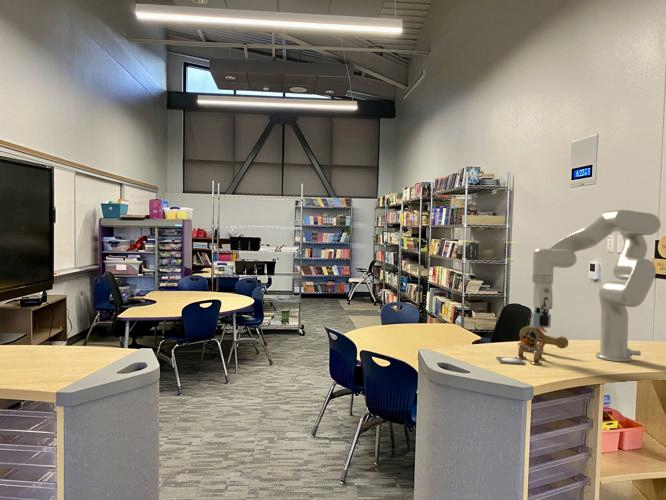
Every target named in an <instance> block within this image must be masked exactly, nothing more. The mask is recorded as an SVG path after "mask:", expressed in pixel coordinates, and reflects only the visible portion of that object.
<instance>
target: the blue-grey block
mask: <svg viewBox="0 0 666 500" xmlns="http://www.w3.org/2000/svg"><path fill="white" fill-rule="evenodd" d="M540 315H541V313H534V312H531V319H532V321H531V326H535V327H543V328H544V329H547V328H551V323H552V322H551V321H552V315H551V313H549V320H548V326H540V325H539V320H540Z"/></svg>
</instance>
